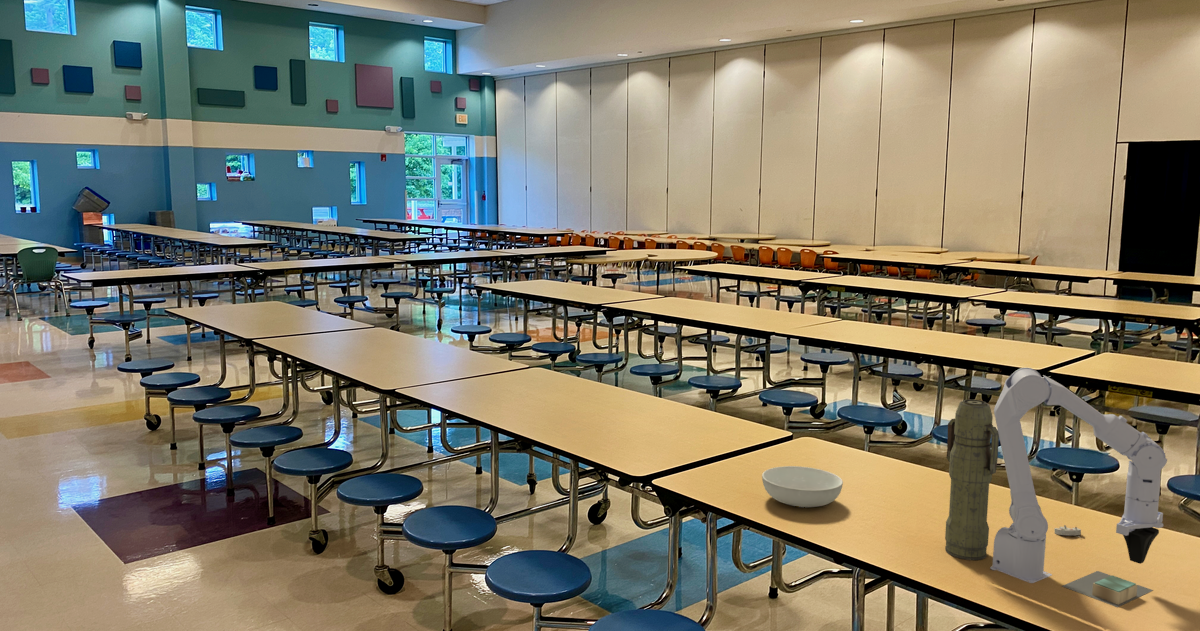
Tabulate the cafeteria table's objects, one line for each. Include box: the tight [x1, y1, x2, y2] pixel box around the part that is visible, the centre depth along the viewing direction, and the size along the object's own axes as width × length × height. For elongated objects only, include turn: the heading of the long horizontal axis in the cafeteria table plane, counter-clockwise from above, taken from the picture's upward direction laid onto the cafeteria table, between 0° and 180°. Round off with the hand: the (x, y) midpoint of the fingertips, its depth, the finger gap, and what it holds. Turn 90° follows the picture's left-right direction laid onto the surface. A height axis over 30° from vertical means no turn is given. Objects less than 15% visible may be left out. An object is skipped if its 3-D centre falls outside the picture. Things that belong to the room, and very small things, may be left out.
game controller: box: [1054, 525, 1082, 538], centre depth 200 cm, size 6×12×3 cm, turn 23°
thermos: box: [944, 399, 1000, 561], centre depth 190 cm, size 9×12×35 cm
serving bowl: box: [761, 465, 844, 508], centre depth 225 cm, size 21×21×7 cm
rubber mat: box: [1061, 570, 1154, 608], centre depth 173 cm, size 11×14×1 cm
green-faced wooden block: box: [1092, 574, 1138, 605], centre depth 169 cm, size 5×3×7 cm
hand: (1136, 561), depth 173 cm, fingers closed
